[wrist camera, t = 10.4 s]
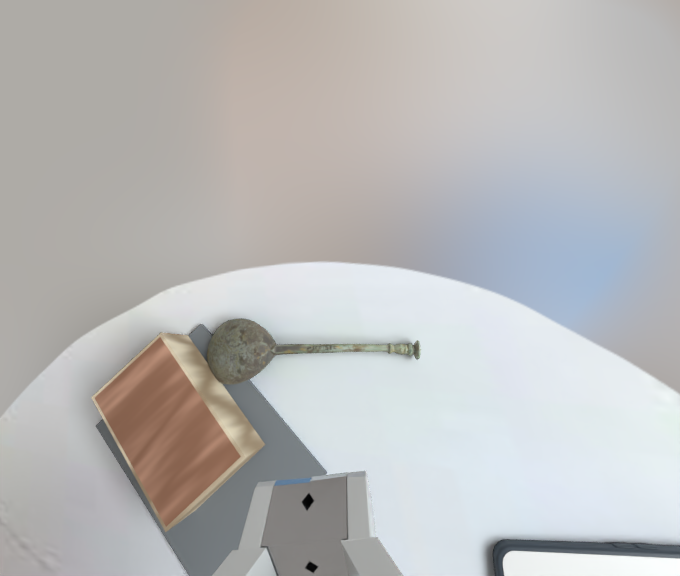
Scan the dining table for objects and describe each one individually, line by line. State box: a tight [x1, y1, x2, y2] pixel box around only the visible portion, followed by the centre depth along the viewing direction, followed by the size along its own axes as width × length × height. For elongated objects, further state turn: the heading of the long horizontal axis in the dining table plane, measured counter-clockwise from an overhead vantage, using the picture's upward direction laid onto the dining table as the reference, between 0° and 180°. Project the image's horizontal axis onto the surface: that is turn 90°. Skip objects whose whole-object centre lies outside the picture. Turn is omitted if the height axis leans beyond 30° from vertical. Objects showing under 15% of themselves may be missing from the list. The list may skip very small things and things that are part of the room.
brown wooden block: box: [91, 333, 265, 532], centre depth 30 cm, size 4×9×14 cm
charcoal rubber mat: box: [96, 324, 327, 576], centre depth 32 cm, size 20×15×1 cm
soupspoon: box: [207, 319, 421, 385], centre depth 31 cm, size 22×3×7 cm
